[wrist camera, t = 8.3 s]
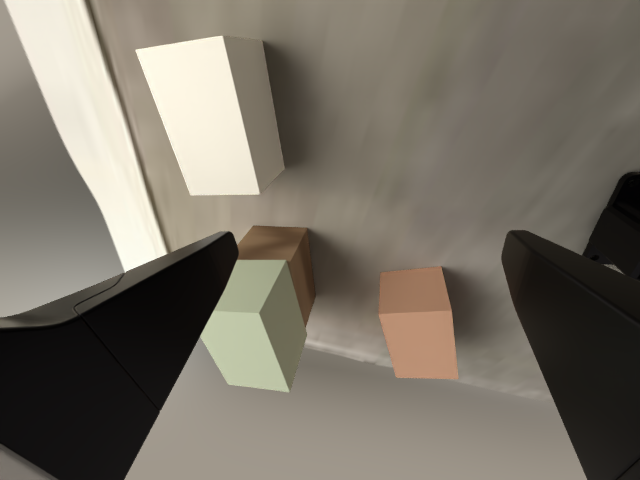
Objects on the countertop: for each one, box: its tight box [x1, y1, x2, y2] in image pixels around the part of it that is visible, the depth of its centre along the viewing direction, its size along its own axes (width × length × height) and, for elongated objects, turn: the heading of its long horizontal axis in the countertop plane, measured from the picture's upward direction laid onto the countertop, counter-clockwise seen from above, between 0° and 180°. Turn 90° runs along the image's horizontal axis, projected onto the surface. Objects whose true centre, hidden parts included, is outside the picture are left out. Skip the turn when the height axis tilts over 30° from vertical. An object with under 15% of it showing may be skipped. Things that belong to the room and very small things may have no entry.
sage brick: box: [200, 260, 307, 392], centre depth 20 cm, size 5×8×5 cm, turn 9°
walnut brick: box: [237, 226, 315, 328], centre depth 24 cm, size 5×8×5 cm, turn 4°
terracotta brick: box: [379, 266, 458, 379], centre depth 24 cm, size 5×8×5 cm, turn 17°
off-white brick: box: [136, 36, 285, 195], centre depth 18 cm, size 5×8×5 cm, turn 6°
